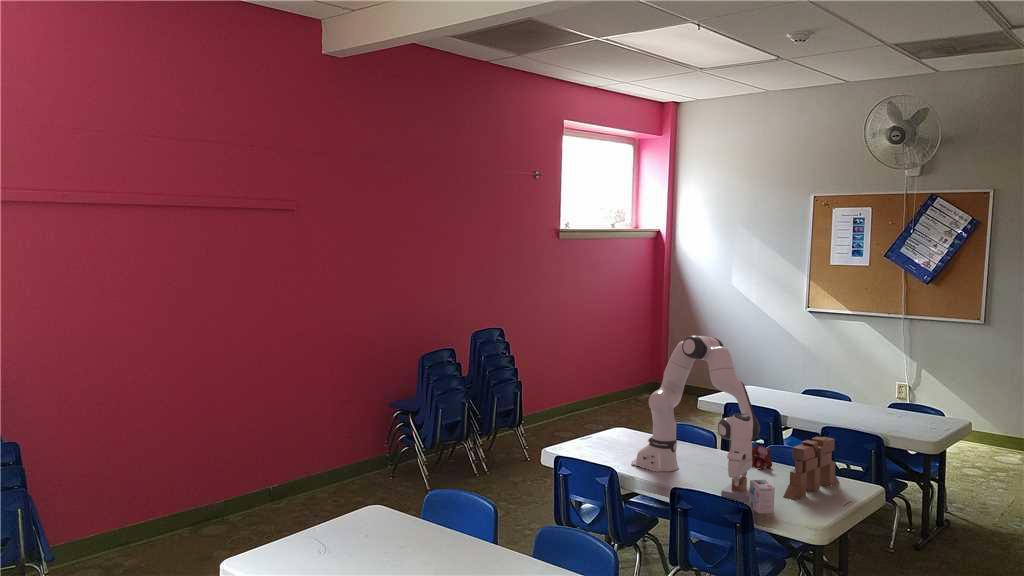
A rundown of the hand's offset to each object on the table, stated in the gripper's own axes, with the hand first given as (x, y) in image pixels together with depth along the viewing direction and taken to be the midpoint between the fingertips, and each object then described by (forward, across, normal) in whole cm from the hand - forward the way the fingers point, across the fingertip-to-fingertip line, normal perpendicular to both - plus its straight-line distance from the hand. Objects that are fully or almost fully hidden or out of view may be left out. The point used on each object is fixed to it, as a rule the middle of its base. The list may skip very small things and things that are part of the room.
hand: (740, 483), depth 341 cm
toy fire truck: (+6, -49, -7) cm, 50 cm away
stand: (+5, 0, 0) cm, 5 cm away
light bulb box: (+6, +11, +13) cm, 18 cm away
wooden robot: (+6, -28, +23) cm, 37 cm away
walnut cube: (+3, 0, 0) cm, 3 cm away
